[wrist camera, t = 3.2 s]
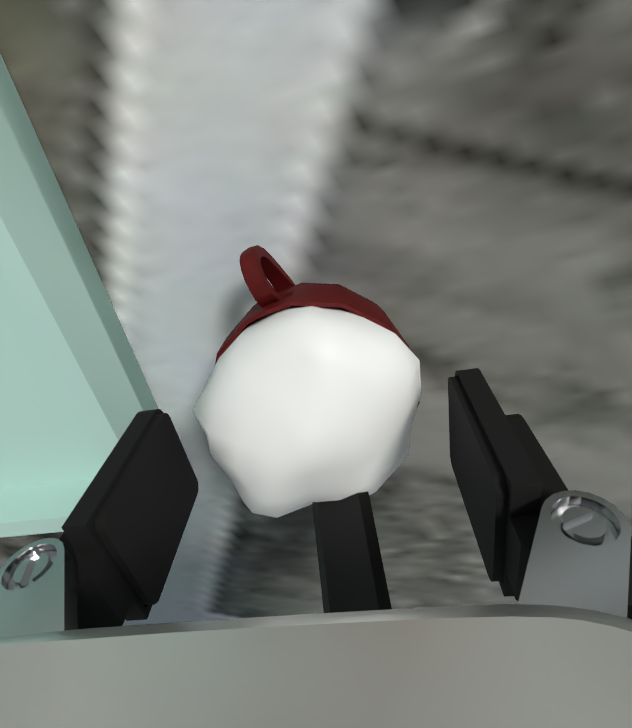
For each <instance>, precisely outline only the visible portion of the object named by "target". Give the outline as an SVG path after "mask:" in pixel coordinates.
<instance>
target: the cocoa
mask: <svg viewBox="0 0 632 728" xmlns="http://www.w3.org/2000/svg"><path fill="white" fill-rule="evenodd" d="M240 266H241V271H242V274H243V277H244V280H245V282H246V284H247V286H248V288H249V290H250V291H251V293H252V295H253V297H254V298H255V300H256V301H257V304H255V305H254V306H253V307H252V308H251V309H250V311H249V312H248V313H247V314H246V315H245V317H244V318H243V319H242V320H241V321H240V323H239V324H238V325H237V326H236V327H235V329H234V330H233V331H232V332H231V333H230V335H229V336H228V337H227V338H226V340H225V341H224V343H223V345H222V346H221V348H220V350H219V351H218V353H217V357H216V364H215V367H214V369H213V371H212V374H211V376H210V378H209V380H208V382H207V384H206V386H205V388H204V390H203V392H202V394H201V396H200V397H199V399H198V401H197V403H196V405H195V407H194V408H193V412H194V414H195V416H196V418H197V420H198V422H199V424H200V426H201V428H202V430H203V432H204V434H205V436H206V438H207V442H208V446H209V451H210V455H211V457H212V458H213V459H214V460H215V462H216V463H217V464H218V465H219V466H220V468H221V469H222V470H223V471H224V472H225V474H226V475H227V476H228V477H229V478H230V480H231V481H232V482H233V484H234V486H235V488H236V490H237V491H238V493H239V495H240V497H241V498H242V500H243V502H244V503H245V505H246V506H247V507H248V508H249V509H250V511H251V512H252V513H255V514H260V515H265V516H270V517H276V518H278V517H280V516H283V515H285V514H288V513H291V512H293V511H296V510H298V509H301V508H303V507H306V506H308V505H311V504H313V514H314V523H315V533H316V542H317V552H318V561H319V570H320V580H321V589H322V599H323V608H324V613H336V612H354V611H372V610H389V609H392V608H391V603H390V598H389V593H388V588H387V583H386V578H385V573H384V568H383V563H382V558H381V553H380V548H379V543H378V538H377V533H376V528H375V523H374V518H373V513H372V508H371V503H370V498H369V495H371V494H373V493H375V492H376V491H377V490H378V489H379V488H380V487H381V485H382V484H383V483H384V482H385V481H386V480H387V479H388V478H389V476H390V475H391V474H392V473H393V472H394V471H395V470H396V469H397V468H398V466H399V465H400V464H401V463H402V462H403V461H404V460H405V459H406V458H407V456H408V455H409V446H410V437H411V428H412V422H413V419H414V416H415V412H416V409H417V407H418V405H419V399H420V396H421V379H420V361H419V359H418V358H417V357H416V356H415V355H414V354H413V353H412V352H411V350H410V348H409V346H408V344H407V343H406V342H405V340H404V339H403V337H402V336H401V335H400V333H399V332H398V330H397V329H396V328H395V326H394V325H393V324H392V322H391V321H390V319H389V318H388V317H387V315H386V314H385V312H384V311H383V310H382V309H381V308H380V307H379V306H378V305H377V304H375V303H374V302H372V301H370V300H368V299H366V298H364V297H362V296H360V295H359V294H357V293H355V292H353V291H351V290H349V289H347V288H345V287H343V286H341V285H339V284H316V283H300V284H298V285H295V284H294V283H293V281H292V280H291V279H290V277H289V276H288V275H287V274H286V273H285V271H284V270H283V269H282V268H281V266H280V265H279V264H278V263H277V262H276V261H275V259H274V258H273V257H272V256H271V255H270V254H269V253H268V252H267V251H266V250H265V249H264V248H262V247H260V246H258V245H257V246H253V247H250V248H248V249H247V250H245V251H244V252H243V253H242V254H241V256H240ZM267 279H268V280H269V281H270V283H271V284H272V286H273V287H272V286H271V285H270V283H269V282H268V280H267ZM273 288H274V289H273Z"/></svg>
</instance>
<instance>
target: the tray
mask: <svg viewBox="0 0 632 728" xmlns="http://www.w3.org/2000/svg"><path fill="white" fill-rule="evenodd" d="M154 409H158V407H157V405H156V402H155V400H154V398H153V396H152V393H151V391H150V389H149V387H148V384H147V382H146V380H145V378H144V375H143V373H142V371H141V369H140V366H139V364H138V362H137V360H136V357H135V355H134V353H133V351H132V348H131V346H130V344H129V342H128V339H127V337H126V335H125V333H124V330H123V328H122V326H121V324H120V321H119V319H118V317H117V315H116V312H115V310H114V308H113V306H112V303H111V301H110V299H109V297H108V294H107V292H106V290H105V288H104V285H103V283H102V281H101V279H100V276H99V274H98V272H97V270H96V267H95V265H94V263H93V261H92V258H91V256H90V254H89V252H88V249H87V247H86V245H85V243H84V240H83V238H82V236H81V234H80V231H79V229H78V227H77V225H76V222H75V220H74V218H73V216H72V213H71V211H70V209H69V207H68V204H67V202H66V200H65V198H64V195H63V193H62V191H61V189H60V186H59V184H58V182H57V180H56V177H55V175H54V173H53V171H52V168H51V166H50V164H49V162H48V159H47V157H46V155H45V153H44V150H43V148H42V146H41V144H40V141H39V139H38V137H37V135H36V132H35V130H34V128H33V126H32V123H31V121H30V119H29V117H28V114H27V112H26V110H25V108H24V105H23V103H22V101H21V99H20V97H19V94H18V92H17V90H16V88H15V85H14V83H13V81H12V79H11V76H10V74H9V72H8V70H7V67H6V65H5V63H4V61H3V58H2V56H1V54H0V537H10V536H21V535H32V534H43V533H54V532H64V531H63V530H62V528H61V527H62V526H63V524H64V523H65V521H66V520H67V518H68V517H69V515H70V514H71V512H72V511H73V509H74V508H75V506H76V504H77V503H78V501H79V500H80V498H81V497H82V495H83V494H84V492H85V491H86V489H87V488H88V486H89V485H90V483H91V482H92V480H93V479H94V477H95V476H96V474H97V473H98V471H99V470H100V468H101V467H102V465H103V464H104V462H105V461H106V459H107V458H108V456H109V455H110V453H111V452H112V450H113V449H114V447H115V446H116V444H117V443H118V441H119V439H120V438H121V436H122V435H123V433H124V432H125V430H126V429H127V427H128V426H129V424H130V423H131V421H132V420H133V418H134V417H135V415H136V414H137V413H138V412H140V411H146V410H154Z"/></svg>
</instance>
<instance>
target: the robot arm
mask: <svg viewBox="0 0 632 728" xmlns="http://www.w3.org/2000/svg"><path fill="white" fill-rule="evenodd" d="M448 397H449V432H450V457H451V463H452V467H453V470H454V473H455V476H456V480H457V483H458V486H459V489H460V492H461V495H462V498H463V501H464V504H465V507H466V510H467V513H468V516H469V519H470V522H471V525H472V528H473V531H474V534H475V537H476V540H477V543H478V546H479V549H480V552H481V555H482V558H483V561H484V564H485V567H486V570H487V573H488V576H489V578H490V580H491V581H499V583H500V586H501V589H502V592H503V595H504V596H515V599H516V600H517V601H518V604H499V605H474V606H449V607H424V608H407V609H389V610H372V611H354V612H336V613H319V614H302V615H286V616H270V617H254V618H238V619H222V620H206V621H190V622H176V623H161V624H146V625H132V626H122V625H123V623H124V620H125V619H126V620H127V621H128V620H144V619H147V618H148V615H149V613H150V610H151V607H152V605H154V604H156V603H157V602H158V600H159V598H160V596H161V593H162V590H163V587H164V585H165V582H166V579H167V576H168V574H169V571H170V568H171V565H172V563H173V560H174V557H175V554H176V552H177V549H178V546H179V543H180V540H181V538H182V535H183V532H184V529H185V527H186V524H187V521H188V518H189V516H190V513H191V510H192V507H193V505H194V502H195V499H196V496H197V493H198V481H197V478H196V476H195V474H194V471H193V469H192V467H191V465H190V462H189V460H188V458H187V455H186V453H185V451H184V448H183V446H182V444H181V441H180V439H179V437H178V435H177V432H176V430H175V428H174V425H173V423H172V421H171V418H170V416H169V415H168V414H167V413H163V412H162V411H161V410H160V409H154V410H146V411H140V412H138V413H137V414H136V415H135V417H134V418H133V420H132V421H131V423H130V424H129V426H128V427H127V429H126V430H125V432H124V433H123V435H122V436H121V438H120V439H119V441H118V443H117V444H116V446H115V447H114V449H113V450H112V452H111V453H110V455H109V456H108V458H107V459H106V461H105V462H104V464H103V465H102V467H101V468H100V470H99V471H98V473H97V474H96V476H95V477H94V479H93V480H92V482H91V483H90V485H89V486H88V488H87V489H86V491H85V492H84V494H83V495H82V497H81V498H80V500H79V501H78V503H77V504H76V506H75V508H74V509H73V511H72V512H71V514H70V515H69V517H68V518H67V520H66V521H65V523H64V524H63V526H62V527H61V528H62V530H63V531H64V533H63V535H62V536H61V538H60V539H55V538H46V539H41V540H38V541H35V542H33V543H31V544H29V545H27V546H25V547H24V548H22V549H20V550H19V551H18V552H17V553H15V554H14V555H13V556H11V557H10V558H9V559H8V560H7V562H6V563H5V564H4V565H3V566H2V567H1V569H0V728H632V536H631V529H630V524H629V522H628V520H627V519H626V517H625V516H624V514H623V513H622V512H621V511H620V510H619V509H618V508H617V507H616V506H615V505H613V504H612V503H610V502H608V501H607V500H605V499H603V498H602V497H599V496H596V495H594V494H591V493H588V492H582V491H576V490H574V491H568V489H567V488H566V486H565V484H564V483H563V481H562V479H561V478H560V476H559V475H558V473H557V471H556V470H555V468H554V467H553V465H552V463H551V462H550V460H549V458H548V457H547V455H546V454H545V452H544V450H543V449H542V447H541V446H540V444H539V442H538V441H537V439H536V437H535V436H534V434H533V433H532V431H531V429H530V428H529V426H528V424H527V423H526V421H525V420H524V418H523V417H522V416H521V415H519V414H513V415H505V414H504V412H503V410H502V409H501V407H500V405H499V403H498V402H497V400H496V398H495V396H494V394H493V393H492V391H491V389H490V387H489V386H488V384H487V382H486V380H485V378H484V377H483V375H482V373H481V371H480V370H479V369H478V368H476V369H468V370H460V371H456V373H455V377H449V378H448Z"/></svg>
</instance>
